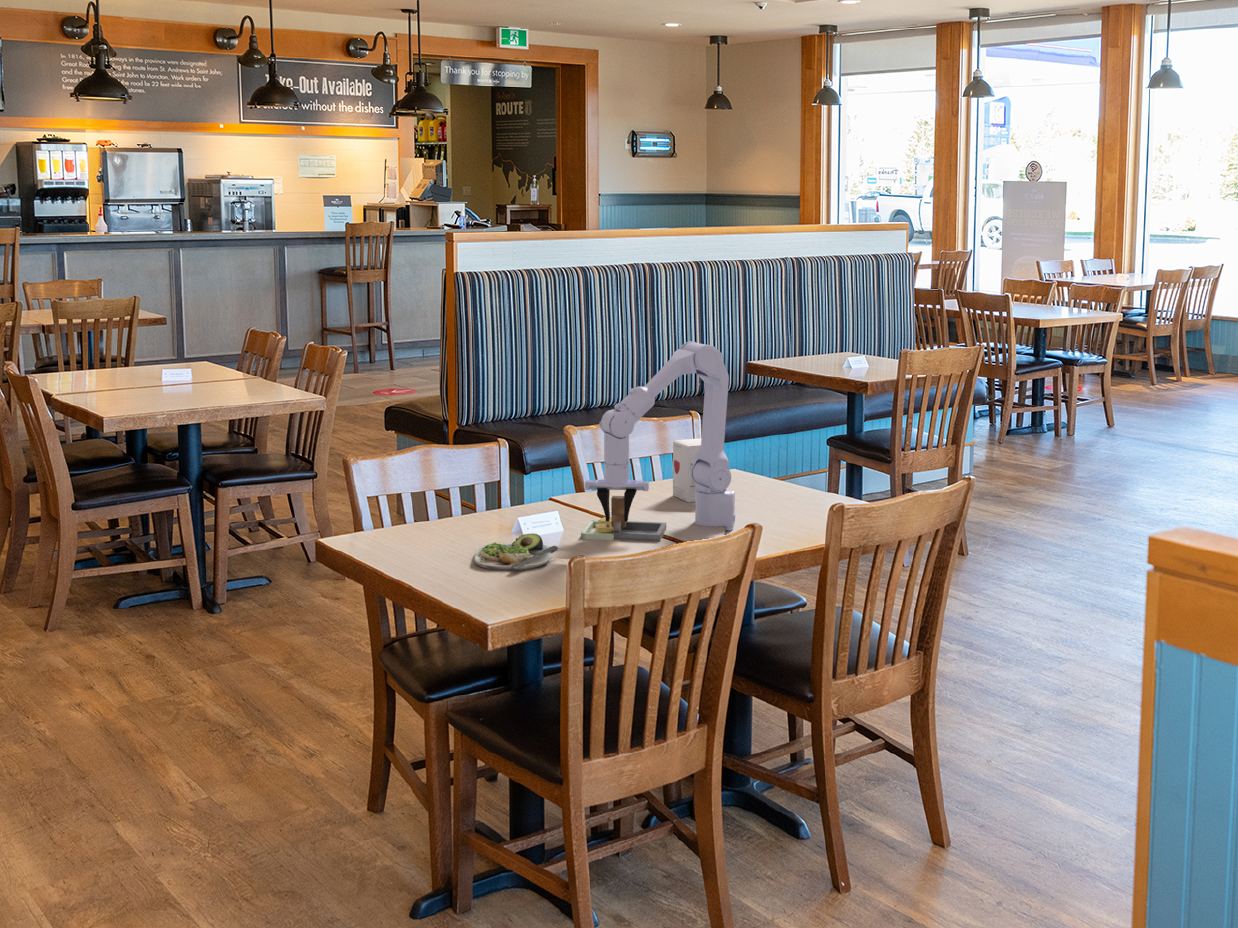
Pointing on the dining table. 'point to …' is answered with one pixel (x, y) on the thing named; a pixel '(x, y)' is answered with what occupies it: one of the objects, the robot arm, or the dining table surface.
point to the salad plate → (515, 553)
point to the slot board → (641, 531)
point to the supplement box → (684, 468)
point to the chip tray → (600, 536)
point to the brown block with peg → (617, 513)
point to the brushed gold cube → (604, 521)
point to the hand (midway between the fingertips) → (617, 520)
